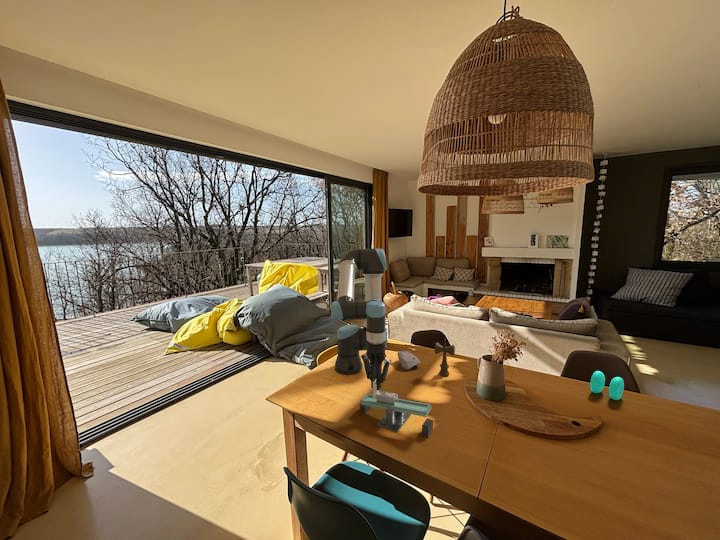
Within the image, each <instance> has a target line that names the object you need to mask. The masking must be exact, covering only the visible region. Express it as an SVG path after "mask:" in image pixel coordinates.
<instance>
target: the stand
mask: <svg viewBox="0 0 720 540" xmlns="http://www.w3.org/2000/svg"><path fill="white" fill-rule="evenodd" d="M398 399H402V398H400V397H398ZM402 400H404V398H403V399H402ZM370 409H372V407H371V406H366V405H361V402H360V403H359V412H360V413H361V414H364V415H365V414H367V412H369V410H370ZM411 416H412V414H407V413H402V412H397V411H394V410H392V409H389V408H386V409H385V415H384V416H383V417H382V418H381V419H380V421H378V423H377V427H379V428H382V429H385V431H386V430H387V431H389V432H392V433H394V434H398V433H399V432H400V430H401V429H402V427H403V426H404V425H405V423H406V422H407V421H408V420H409V418H410V417H411ZM433 431H434V420H433V419H431V418H427V417H426V419H425V420H424V422H423V424H422V425H421V436H423V437H424V438H425V437H426V438H430V435H432V434H431V433H432V432H433Z"/></svg>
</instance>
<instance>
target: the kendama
mask: <svg viewBox="0 0 720 540" xmlns="http://www.w3.org/2000/svg"><path fill="white" fill-rule="evenodd" d="M443 341H444V342H443V345H442V344H441V343H439V342H438V341H437V342H435V343H434V345H435V346H434V354H435V355H438V354H440V353H443V355H442V359H441V363H440V364H439V367H440V370H439V371H438V374H439V376H443V377H448V376H449V375H450V372H449V368H450V365H449V364H448V360H447V359H448V358H447V354H449V355H450V356H451V357H454V356H455V353H456V346H455V344H452V345H449V346H447V338H446V337H444V340H443Z"/></svg>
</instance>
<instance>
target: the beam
mask: <svg viewBox="0 0 720 540" xmlns="http://www.w3.org/2000/svg"><path fill="white" fill-rule="evenodd" d="M398 401H399V403H398V404H397V405H396V406H394V405H389V404H383V403H378V402H377V399H376V398H373V393H372V394H371V393H367V394H366V395H365V396H363V398H361V400H360V403H361V405H366V406H371V408H377V409H381V410H382V409H383V410H386V408H389V409H392V410H394V411H397V412H402V413H407V414H411V415H413V416H418V417H424V418H427V416H428V415H429V413H430V412H431V410H432V409H433V408H432V407H433V406H432V403H426V402H425V403H424V402H419V401H415V400H414V401H413V400H407V399H403V400H402V398H400V399H398Z"/></svg>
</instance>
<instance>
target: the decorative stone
mask: <svg viewBox="0 0 720 540" xmlns="http://www.w3.org/2000/svg"><path fill="white" fill-rule="evenodd" d="M397 357H398V362H399V364H400V366H401V367H402V368H403V370H410V371H411V370H412V369H413V368H414V367H416V366H417V365H419V364H421V361H420V360H419V358H418V357H417V356H416V355H415V354H413V353H411V352H410V351H407V350H404V351H398V352H397Z"/></svg>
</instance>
